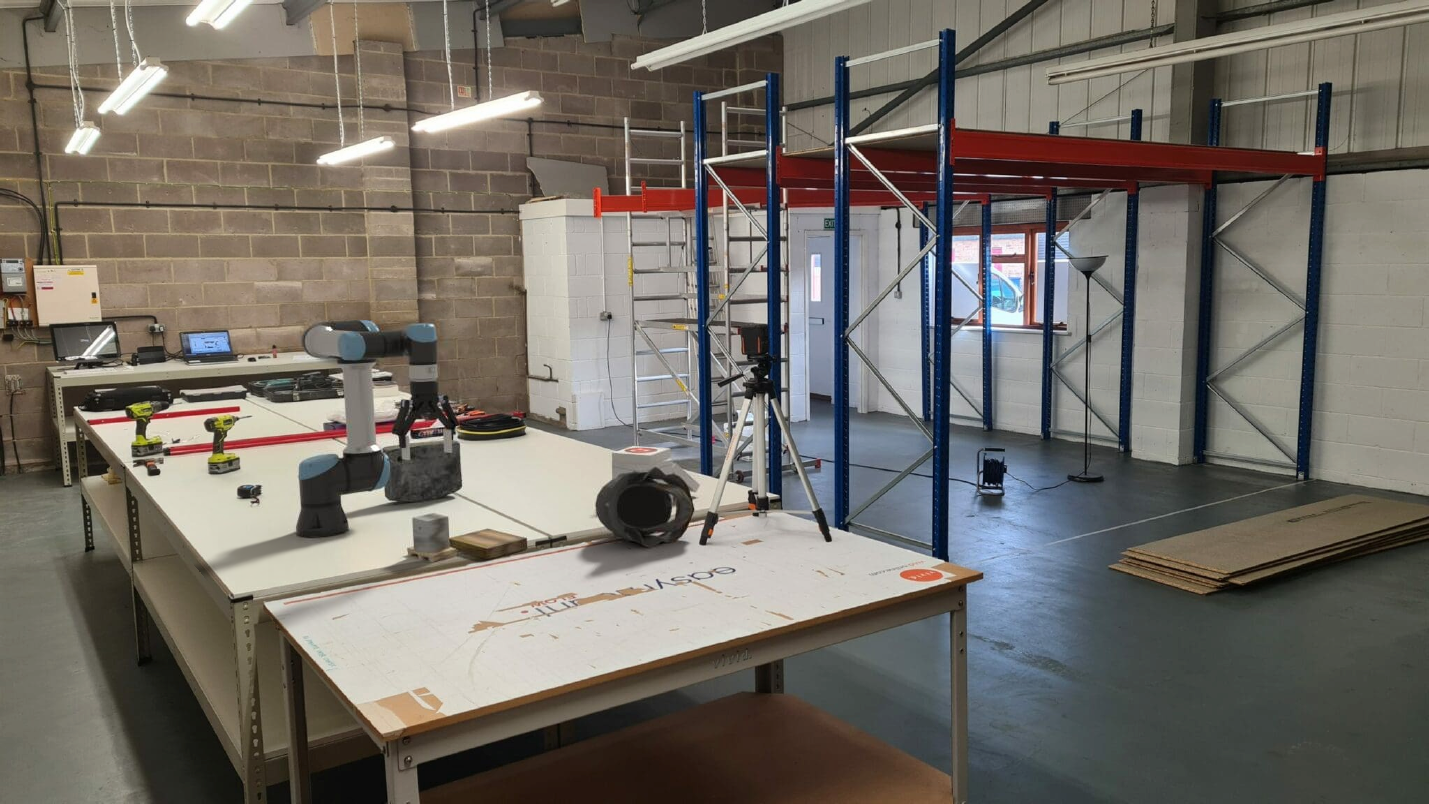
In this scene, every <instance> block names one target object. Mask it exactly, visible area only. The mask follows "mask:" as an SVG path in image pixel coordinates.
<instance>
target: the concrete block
mask: <svg viewBox="0 0 1429 804" xmlns="http://www.w3.org/2000/svg"><path fill="white" fill-rule="evenodd" d="M409 444H410V460H404V459H402V448H400V447H399V444H397V445H389V446H384V447H381V448H382V452H383V453H385V454H386V455H387V456H388V458H389V460H388V461H389V463H390V474H389V479H388V481H387V483H386V485H385V486H384V487H383V488H384V497H385V498H386V499H387V500H388V501H391V502H402V503H404V502H405V503H406V502H407V503H409V502H410V503H411V502H412V503H413V502H414V503H415V502H417V503H418V502H426V501H433V500H437V499H440V498H443V497H446V496H449V495H451V494H454V493H457V492H459V491H460V490H461V489H462V487H463V480H462V479H463V477H462V476H463V475H462V462H461V444H460V442H459V441H458V440H454V439H453V440H452V453H447V452H444V439H443V440H442V439H441V440H434V441H433V440H432V441H430V440H429V441H423V442H421V441H420V442H412V443H411V442H409Z"/></svg>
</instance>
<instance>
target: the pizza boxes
mask: <svg viewBox="0 0 1429 804" xmlns="http://www.w3.org/2000/svg"><path fill="white" fill-rule="evenodd" d="M654 467H657V468H659V469H660V470H661V471H662V472H663V473H664V474H665V475H668V474H675V475H677V476H680V477H681V478H682V479H683V480H684V481H685V483H686V484H687V486H688V488H689V490H690V493H691V492H692V493H697V492H698V490H699V487H700V486H701V485H700V484H699V482H698V481H696V479H694V478H693V477H692V476H691V475H690V474H689V473H687V471H686V470H684V468H682V467H681V466H680V465H679V464H678V463H677V462H674V461H673V459H672V458H671V448H669V447H654V446H653V447H652V446H640V445H639V446H638V445H637V446H636V445H632V446H629V447H625V448H623V449H620V450H617V451H612V452H611V475H612V476H611V480H613V479H615V478H617V477H618V475H619V474H621V473H624V472H633V471H636V472H647V471H649V470H651V469H652V468H654ZM653 480H655V481H656V482H658V483H663V484H667V483H665V482H664V481H663V480H661V479H660V480H658V479H653ZM669 495H670V497H671V499H672V503H673V502H674V496H672V495H671V494H669Z"/></svg>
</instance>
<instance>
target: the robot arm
mask: <svg viewBox="0 0 1429 804" xmlns="http://www.w3.org/2000/svg"><path fill="white" fill-rule="evenodd" d="M437 339H438V337H437V332H436V326H435V324H433V323H410V324H408V325H407V327H406V328H403V329H402V328H401V329H397V330H383V331H382V330H380V329H379V328H378V326H377V325H376V323H374V322H373V321H371V320H363V319H362V320H361V319H355V320H336V321H335V320H334V321H332V320H331V321H329V320H326V321H320V322H317V323H314V324H312V325H309V326H308V327H307V328H306V329H305V330H303V333H302V334H301V339H300V344H301V347H302V349H303V351H304V352H305V353H306V354H307V355H308V356H310V357H313V358H315V359H321V360H336V365H337V366H338V367H339V368H340V369H341V370H342V380H343V381H342V382H343V394H344V396H343V397H344V408H345V409H344V411H345V426H346V428H345V429H346V441H347V444H346V447H345V448H344V449H342V457H339V455H338V454H336V453H327V454H319V455H314V456H311V457H307V458H305V459H303V460H302V461H301V462H300V463H299V465H298V475H297V478H298V484H299V486H298V487H299V500H300V511H299V513H298V518H297V521H296V526H295V533H296V536H299V537H303V538H319V537H320V538H321V537H322V538H323V537H330V536H335V535H339V534H342V533H345V532H347V531H349V520H348V518H347V516H346V513H345V511H344V509H343V506H342V496H345V495H351V494H357V493H365V492H369V493H370V492H372V491H376V490H380V489H383V488H384V486H385V485H386V483H387V481H388V479H389V474H390V463H389V461H388V460H389V458H388V456H387V455H386V454H385V453H383V452H382V448H383V447H381V446H380V445H379V444H378V443H377V435H376V432H377V431H376V418H375V416H376V415H375V403H374V401H375V400H374V386H373V372H372V371H373V367H374V366H375V365H376V364H377V359H391V358H392V359H393V358H408V370H409V371H408V372H409V374H408V375H409V379H410V380H411V381H410V382H409V391H410V397H411V398H410V399H405V398H402V399H400V408H399V410H398V413H397V416H396V419H395V421H394V424H393V427H392V428H391V429H392V430H391V434H392V435H395V436H398V445H399V447H400V448H402V459H404V460H410V436H409V435H407V434H409V431H410V430H411V428H412V426H413V425H414V424H415V422H416V420H417V419H418V417H420V416H421V415H426V414H433V415H434V416H435V418H436V419H437V420H438V421H439V423H441V425H443V426H444V429H443V430H442V431H443V432H442V433H443V440H444V452H447V453H452V440H454V431H455V430H456V429H457V428H456V427H459V426H460V422H459V419H458V417H457V415H456V414H455V413H454V412H455V411H454V410H453V408H452V405H451V404H450V400H449V396H448V395H447V394H440V395H439V391H440V390H439V381H438V380H437V379H438V377H439V375H438V374H439V372H438V350H437V349H438V348H437V346H438V345H437V343H438V342H437ZM439 404H440V406H441V408H442V409H443V411H442V409H441V408H440V406H439ZM410 408H411V409H410ZM443 412H444V413H443Z"/></svg>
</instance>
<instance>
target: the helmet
mask: <svg viewBox="0 0 1429 804" xmlns="http://www.w3.org/2000/svg"><path fill="white" fill-rule="evenodd" d="M653 479H658V480H660V479H661V480H663V481H664V482H665V483H667V484H663V483H658V482H656V481H655V480H653ZM669 494H671V495H672V496H673V498H675V507H676V508H675V515H674V519H672V520H670V519H671V517H672V511H673V502H672V499H671V497H670V495H669ZM595 499H596V500H595V514H596V516H597V518H598V520H599V522H600V523H601V524H602V525H603V526H604V528H606V530H608V531H609V532H612V534H613V535H614V537H616V538H617V539H619V540H625V541H628V542H637V543H639V544H641V545H642V546H644V547H646V548H648V549H652V548H653V547H656V546H657V545H658V544H660V543H661V542H664V543H667V544H670V543H674V542H677V541H678V540H679V539H681V538H682V536H683V535H684V534H685V533H686V532H687V529H688V528H689V525H690V523H691V520H692V517H693V515H694V513H695V505H694V503H693V502H694V501H693V498H692V494H691V491H690V490H689V488H688V486H687V484H686V483H685V481H684V480H683V479H682V478H681V477H680V476H677V475H675V474H668V475H665V474H664V473H663V472H662V471H661V470H660V469H659V468H657V467H654V468H652V469H651V470H649V471H647V472H636V471H633V472H624V473H621V474H619V475H618V477H617V478H615V479H613V480H612V479H611V480H609V482H607V483H606V484H605V485H603V486H602V487H601V489H600V490H599V492H598V493H597V496H596V498H595ZM669 520H670V521H669ZM655 533H660V534H659V535H653V534H655Z"/></svg>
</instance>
